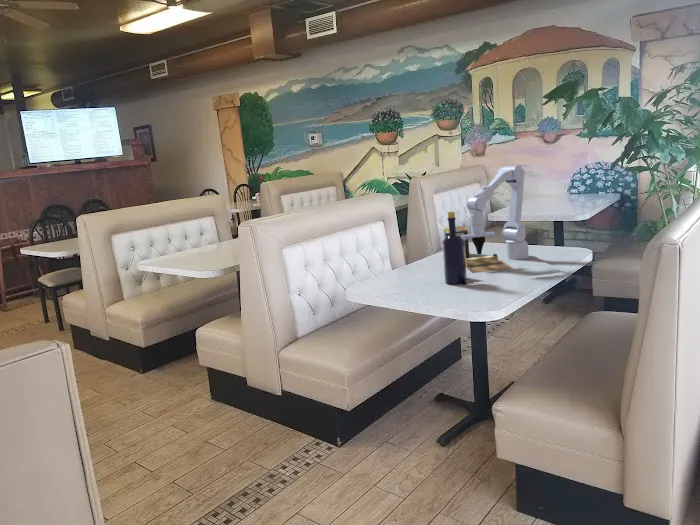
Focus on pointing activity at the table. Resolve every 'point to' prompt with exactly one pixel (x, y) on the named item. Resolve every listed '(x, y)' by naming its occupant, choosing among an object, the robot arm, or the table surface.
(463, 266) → the bottle
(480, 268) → the stool board
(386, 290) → the table surface
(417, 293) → the table surface
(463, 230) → the protein box
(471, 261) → the leg
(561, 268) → the table surface
